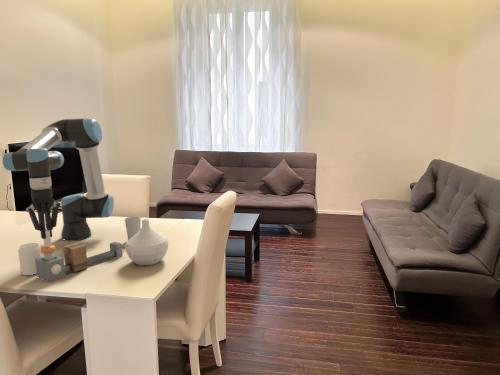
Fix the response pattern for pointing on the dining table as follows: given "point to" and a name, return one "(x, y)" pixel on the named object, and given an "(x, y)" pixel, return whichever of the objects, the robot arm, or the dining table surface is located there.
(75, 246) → the carriage
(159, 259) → the vase
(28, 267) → the beverage can
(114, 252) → the rail
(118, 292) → the dining table surface
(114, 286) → the dining table surface
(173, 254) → the dining table surface
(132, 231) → the cup
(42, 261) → the housing
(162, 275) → the dining table surface
